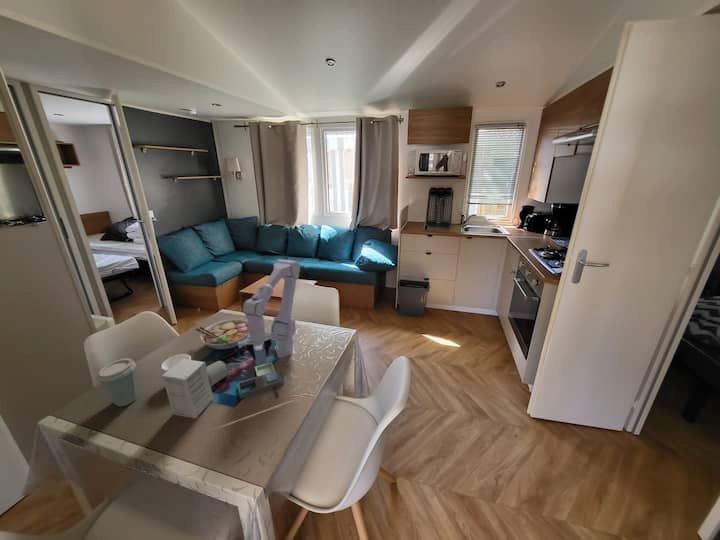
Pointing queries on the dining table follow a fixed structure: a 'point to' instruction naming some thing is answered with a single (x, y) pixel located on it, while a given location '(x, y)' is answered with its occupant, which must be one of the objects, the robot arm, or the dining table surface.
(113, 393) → the disposable coffee cup
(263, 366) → the tray
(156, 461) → the dining table surface
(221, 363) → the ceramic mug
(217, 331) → the ramen bowl
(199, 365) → the supplement box
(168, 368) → the cup
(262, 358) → the plug
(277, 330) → the robot arm
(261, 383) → the grey busybox board
